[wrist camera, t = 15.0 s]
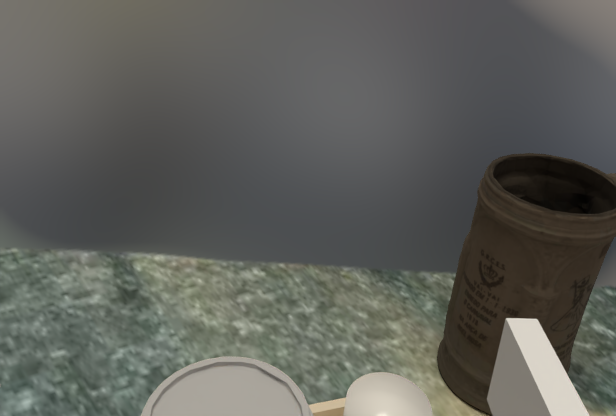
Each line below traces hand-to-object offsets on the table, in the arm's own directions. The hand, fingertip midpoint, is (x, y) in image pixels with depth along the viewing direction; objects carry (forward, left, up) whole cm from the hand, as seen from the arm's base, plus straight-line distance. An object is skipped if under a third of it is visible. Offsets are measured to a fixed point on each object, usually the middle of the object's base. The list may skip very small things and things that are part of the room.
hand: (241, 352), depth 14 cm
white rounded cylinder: (-13, +14, -25) cm, 31 cm away
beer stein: (-19, +29, -26) cm, 43 cm away
